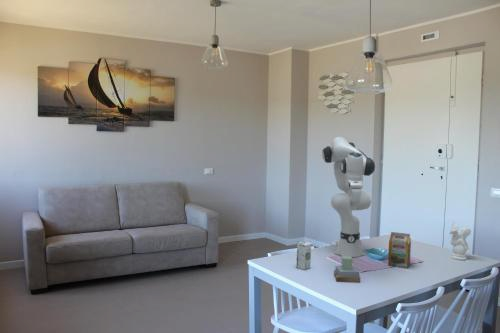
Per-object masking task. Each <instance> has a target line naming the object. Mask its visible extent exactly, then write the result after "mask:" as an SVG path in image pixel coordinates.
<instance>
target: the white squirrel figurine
mask: <svg viewBox="0 0 500 333" xmlns="http://www.w3.org/2000/svg"><path fill="white" fill-rule="evenodd" d="M450 230H451V231H449V235H452V236H451V239H450V244H451V245H452V252H453V253H452V255H451V258H452V259H453V260H458V261H466V260H468V257H466V254H467V250H470V246H469V244H468V242H467V240H466V239H467V237H469V236H470V235H471V232H472V230H471V228H470V227H469V226H463V227H462V228H460V229H459V225H458V224H457V223H456V222H455V221H453V222H452V226H451V229H450Z"/></svg>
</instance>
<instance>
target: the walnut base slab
mask: <svg viewBox="0 0 500 333" xmlns="http://www.w3.org/2000/svg"><path fill="white" fill-rule="evenodd" d="M333 276H334V278H335V281H336V282H337V283H355V284H356V283H358V284H360V283H361V277H360V276H359V277H339V275H338V274H337V273H336V271H335V269H334V270H333Z"/></svg>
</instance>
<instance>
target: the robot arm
mask: <svg viewBox="0 0 500 333" xmlns="http://www.w3.org/2000/svg"><path fill="white" fill-rule="evenodd" d="M321 156H322V159H323V160H324V162H325V163H326V164H330V163H331V164H332V163H333V173H334V177H335V181H336V185H337V188H338V189H339V190H340V191H341V192H340V193H336V194H334V195H332V197H331V201H330V205H331V207H332V208H333V210H334V211H336V212H337V213H338V215H339V217H340V221H341V222H340V225H341V226H340V227H341V228H340V229H341V230H340V233H339V236H340V237H339V239H338V241H336V242H335V243H336V247H335V250H334V255H339V256H340V257H342V256H352V258H358V257H361V256H365V252H364V251H363V242H362V240H360V238H361V233H360V220H359V219H358V217H356V216H354V215H353V211H363V210H367V209H368V208H370V207H371V204H372V200H371V196H370V195H369V194H368V193H366V192H364V191H363V190H362V189H363V187H364V184H363V181H364V176H365V177H366V176H367V177H368V176H369V177H370V175H372V174H373V173H374V172H375V168H376V165H375V162H374V160H373V159H372V158H371V157H368V156H367V155H366V154H365V153H364V152H363V151H361V150H360V149H358V148H357V147H356V145H355V143H354V142H350V141H348V140H347V139H346V138H345V137H343V136H336V137H334V138H333V139H332V141H331V145H327V146H326V147H324V148H323V149H322V152H321ZM342 191H343V192H342Z"/></svg>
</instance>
